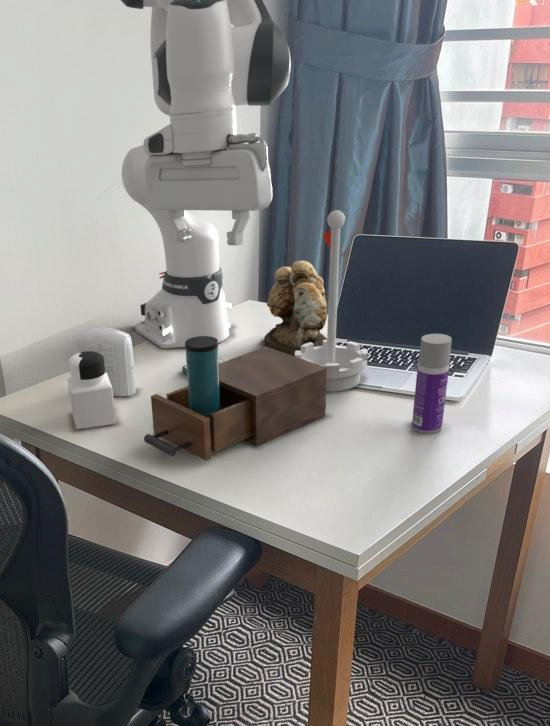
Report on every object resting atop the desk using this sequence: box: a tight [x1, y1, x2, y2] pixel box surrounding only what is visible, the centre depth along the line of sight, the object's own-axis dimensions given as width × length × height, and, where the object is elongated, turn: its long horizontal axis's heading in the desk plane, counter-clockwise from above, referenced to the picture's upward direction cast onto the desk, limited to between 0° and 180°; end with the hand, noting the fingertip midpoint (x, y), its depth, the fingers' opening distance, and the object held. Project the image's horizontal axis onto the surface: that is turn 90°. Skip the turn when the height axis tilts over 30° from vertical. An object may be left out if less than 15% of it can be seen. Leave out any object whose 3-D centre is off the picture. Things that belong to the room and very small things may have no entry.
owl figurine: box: [263, 260, 328, 356], centre depth 166 cm, size 18×12×17 cm, turn 26°
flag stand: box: [295, 209, 369, 392], centre depth 147 cm, size 13×13×30 cm
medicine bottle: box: [67, 351, 117, 430], centre depth 145 cm, size 7×7×12 cm
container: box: [411, 333, 453, 435], centre depth 131 cm, size 5×5×15 cm
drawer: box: [143, 385, 253, 462], centre depth 135 cm, size 19×14×7 cm
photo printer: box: [78, 327, 137, 397], centre depth 155 cm, size 10×4×12 cm, turn 69°
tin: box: [184, 336, 220, 435], centre depth 133 cm, size 5×5×15 cm
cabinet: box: [218, 345, 327, 447], centre depth 141 cm, size 16×15×9 cm
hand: (209, 243), depth 119 cm, fingers open, 8 cm apart
